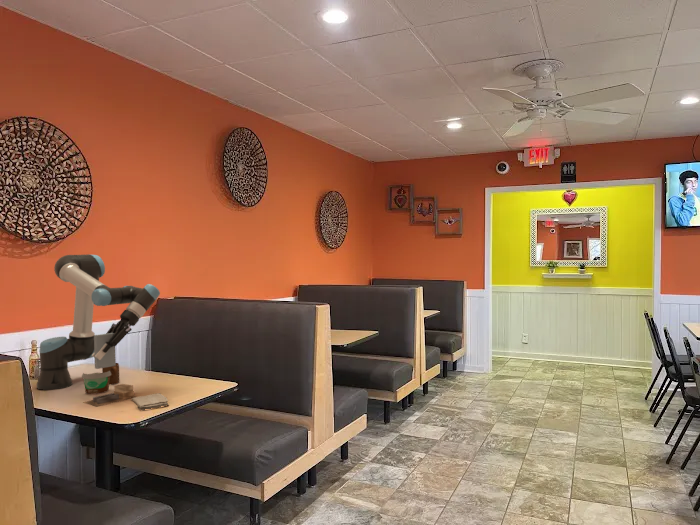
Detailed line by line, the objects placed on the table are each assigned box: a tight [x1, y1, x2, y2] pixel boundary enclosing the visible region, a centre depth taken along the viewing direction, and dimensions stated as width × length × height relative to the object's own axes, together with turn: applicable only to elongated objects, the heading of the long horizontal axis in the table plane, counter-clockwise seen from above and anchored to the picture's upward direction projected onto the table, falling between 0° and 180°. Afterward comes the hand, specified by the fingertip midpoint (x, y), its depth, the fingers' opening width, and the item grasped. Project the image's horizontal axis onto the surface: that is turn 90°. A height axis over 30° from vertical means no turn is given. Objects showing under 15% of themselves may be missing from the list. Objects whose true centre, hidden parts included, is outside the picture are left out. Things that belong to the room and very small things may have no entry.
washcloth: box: [131, 393, 169, 411], centre depth 221 cm, size 12×18×3 cm, turn 35°
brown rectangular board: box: [82, 392, 137, 408], centre depth 225 cm, size 18×12×3 cm, turn 142°
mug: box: [101, 362, 120, 386], centre depth 259 cm, size 12×8×9 cm, turn 41°
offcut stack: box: [113, 383, 135, 399], centre depth 230 cm, size 5×8×5 cm
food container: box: [81, 371, 111, 395], centre depth 238 cm, size 12×6×10 cm, turn 105°
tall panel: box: [94, 332, 117, 370], centre depth 223 cm, size 8×2×14 cm, turn 142°
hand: (95, 357), depth 220 cm, fingers closed on tall panel, 2 cm apart
